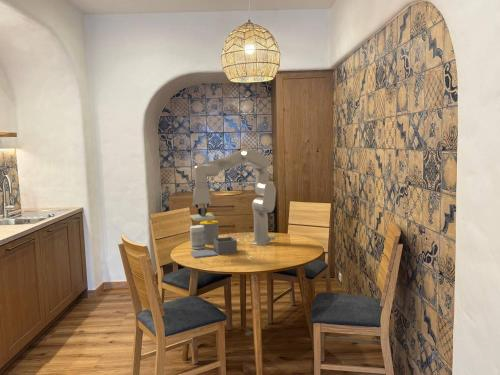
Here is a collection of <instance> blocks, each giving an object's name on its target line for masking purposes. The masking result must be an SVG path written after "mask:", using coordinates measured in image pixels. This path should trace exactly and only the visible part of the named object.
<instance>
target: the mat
mask: <svg viewBox="0 0 500 375" xmlns="http://www.w3.org/2000/svg"><path fill="white" fill-rule="evenodd" d="M190 254H191V255H192V257H193V258H195V259H199V258H207V257H208V258H210V257H217V256H218V254H217V253H216V252H215V251H214V248H213V249H211V248H210V249H209V248H208V249H198V250H192V251H190Z"/></svg>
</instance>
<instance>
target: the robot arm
mask: <svg viewBox="0 0 500 375" xmlns="http://www.w3.org/2000/svg"><path fill="white" fill-rule="evenodd" d="M245 163H248V164H249V166H250V167H251V168H252V169H253V170H254V172H255V186H254V187H255V188H254V192H255V194H256V195H258V196H263V197H256V198H254V199H253V200H252V203H251V208H252V214H253V235H254V236H253V237H254V238H253V239H254V240H253V241H252V242H251V243H252V244H253V245H256V246H265V245H270V244H271V243H272V242H271V240H276V237H275V236H269V224H268V223H269V220H268V214H269V213H273V211H274V210H275V206H276V196H277V188H276V186H275V184H274V183H273V182H269V171H268V167H269V166H270V163H271V162H270V158H269V157H268V156H266V155H265V154H263V153H260V152H258V151H256V150H254V149H253V148H252V149H251V148H247V149H246V148H245V149H240V150H237V151H236V152H233V153H230V154H229V155H226V156H223V157H221V158H218V159H214V160H212V161H209V162H207V163H205V164H200V165H195V166H194V187H193V193H192V203H191V205H192V206H194V207H196V209H197V215H198V214H199V215H201V209H200V207H201V205H202V204H203V207H204V208H205V215H206V213H208V211H207V209H208V207H210V205H212V204H213V202H212V200H211V194H210V188H209V186H210V184H211V183H210V182H208V177H212V178H213V177H217V176H218V175H219V174H220V173H221V171H223V170H224V171H225V170H231V169H234V168H236V167H238V166H240V165H242V164H245Z"/></svg>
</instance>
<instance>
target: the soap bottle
mask: <svg viewBox="0 0 500 375" xmlns="http://www.w3.org/2000/svg"><path fill="white" fill-rule="evenodd" d="M206 214H212V215H214V214H215V213H214V212H207V213H206ZM219 222H220V221H218V220H215V219H214V220H213V219H212V220H205V221H199V225H203V226H204V232H205V245H207V244H208V245H214V239H215V238H219Z"/></svg>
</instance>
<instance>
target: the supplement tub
mask: <svg viewBox="0 0 500 375" xmlns="http://www.w3.org/2000/svg"><path fill="white" fill-rule="evenodd" d="M189 235H190V248H191V249H192V250H204V249H205V248H206V244H205V232H204V226H203V225H200V224H197V225H191V226H190V227H189Z"/></svg>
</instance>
